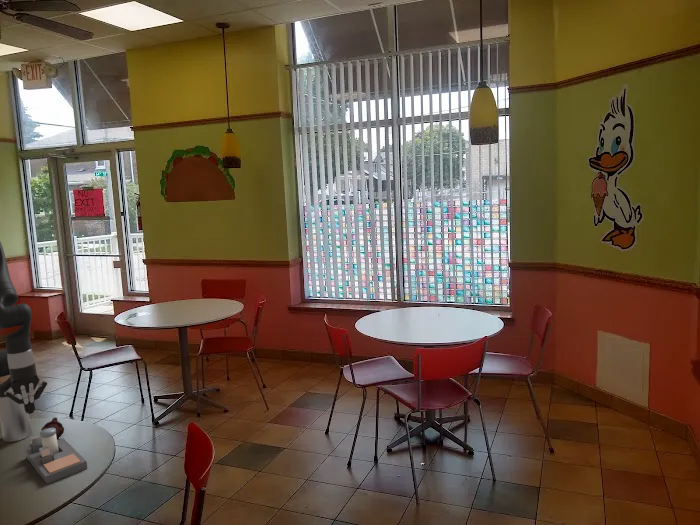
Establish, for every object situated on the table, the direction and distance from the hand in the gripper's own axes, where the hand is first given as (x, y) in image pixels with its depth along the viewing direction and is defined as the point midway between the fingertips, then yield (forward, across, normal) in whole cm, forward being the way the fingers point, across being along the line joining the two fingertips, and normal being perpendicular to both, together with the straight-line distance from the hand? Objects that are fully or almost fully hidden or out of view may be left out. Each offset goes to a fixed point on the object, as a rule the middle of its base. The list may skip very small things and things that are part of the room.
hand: (30, 413), depth 186 cm
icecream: (+16, -8, -11) cm, 21 cm away
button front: (+12, 0, +12) cm, 17 cm away
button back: (+12, 0, 0) cm, 12 cm away
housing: (+16, -3, +10) cm, 19 cm away
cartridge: (+16, -3, +6) cm, 17 cm away
